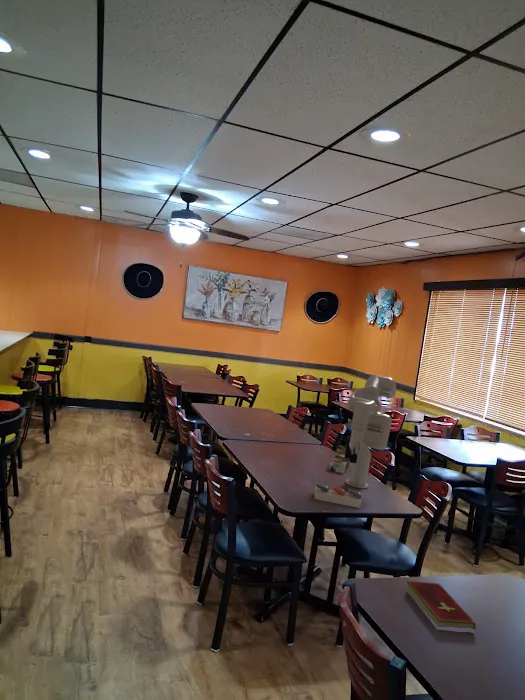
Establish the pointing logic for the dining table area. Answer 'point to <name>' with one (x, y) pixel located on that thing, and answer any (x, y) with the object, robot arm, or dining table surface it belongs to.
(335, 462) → the juice carton
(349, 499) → the rocker switch panel
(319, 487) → the charcoal rocker
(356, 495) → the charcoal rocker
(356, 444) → the robot arm
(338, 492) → the red rocker
